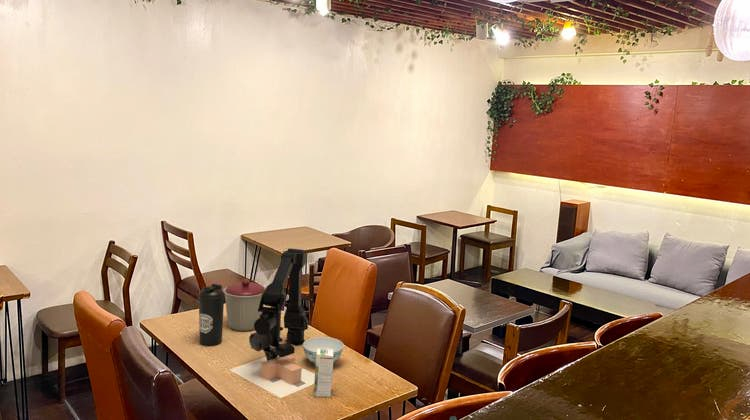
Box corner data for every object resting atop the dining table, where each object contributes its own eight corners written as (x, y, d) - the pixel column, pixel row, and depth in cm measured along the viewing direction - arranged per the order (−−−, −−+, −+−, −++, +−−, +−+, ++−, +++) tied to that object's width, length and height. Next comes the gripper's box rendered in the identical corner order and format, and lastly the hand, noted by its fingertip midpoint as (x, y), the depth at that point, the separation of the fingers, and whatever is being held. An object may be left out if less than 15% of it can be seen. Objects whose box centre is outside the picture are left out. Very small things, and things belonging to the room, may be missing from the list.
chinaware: (293, 364, 209) (294, 344, 208) (321, 352, 221) (322, 333, 220) (323, 377, 200) (324, 356, 199) (350, 364, 212) (352, 344, 211)
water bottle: (191, 343, 221) (192, 287, 217) (208, 335, 230) (209, 280, 227) (213, 349, 217) (214, 291, 214) (229, 340, 227) (230, 285, 223)
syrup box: (314, 388, 191) (316, 348, 189) (331, 389, 191) (333, 348, 189) (313, 396, 185) (315, 355, 183) (331, 397, 186) (333, 355, 184)
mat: (272, 355, 215) (273, 354, 215) (324, 380, 198) (325, 378, 197) (228, 371, 200) (228, 369, 200) (280, 399, 182) (280, 397, 182)
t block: (287, 366, 205) (287, 353, 204) (309, 377, 197) (310, 364, 197) (260, 376, 196) (261, 362, 195) (282, 388, 188) (283, 374, 188)
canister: (238, 316, 254) (239, 271, 250) (273, 323, 248) (275, 277, 244) (213, 329, 237) (214, 281, 233) (251, 337, 231) (252, 288, 228)
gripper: (237, 322, 199) (236, 364, 202) (271, 338, 187) (269, 382, 190) (262, 315, 208) (261, 355, 210) (296, 330, 196) (294, 372, 198)
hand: (270, 366), depth 202 cm, fingers closed
